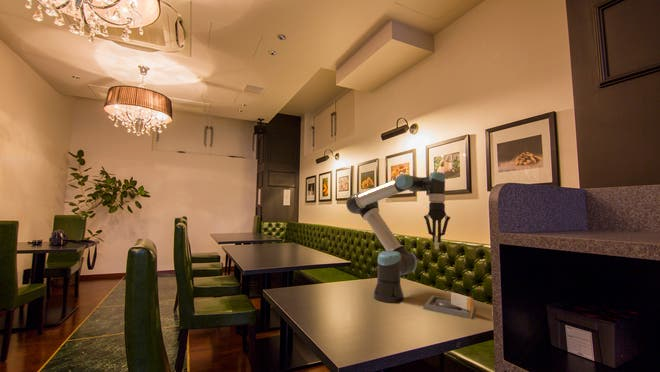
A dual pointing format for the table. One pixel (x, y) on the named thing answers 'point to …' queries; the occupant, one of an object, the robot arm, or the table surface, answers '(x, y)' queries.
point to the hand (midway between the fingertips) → (436, 248)
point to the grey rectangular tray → (432, 307)
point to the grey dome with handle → (456, 302)
